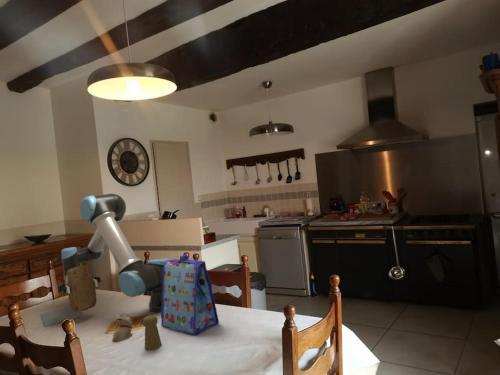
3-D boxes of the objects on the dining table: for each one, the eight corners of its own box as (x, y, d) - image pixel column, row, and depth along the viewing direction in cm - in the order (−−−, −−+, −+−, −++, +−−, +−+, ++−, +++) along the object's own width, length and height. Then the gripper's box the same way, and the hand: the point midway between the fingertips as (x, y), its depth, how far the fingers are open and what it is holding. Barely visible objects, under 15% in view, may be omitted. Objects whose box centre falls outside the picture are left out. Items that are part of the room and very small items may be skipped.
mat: (80, 317, 176) (80, 316, 176) (44, 327, 167) (44, 326, 167) (72, 306, 196) (72, 305, 196) (40, 314, 187) (40, 313, 187)
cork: (146, 352, 128) (142, 321, 128) (143, 346, 134) (139, 316, 133) (163, 346, 131) (159, 316, 131) (159, 341, 136) (156, 312, 136)
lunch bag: (220, 323, 147) (211, 252, 147) (194, 336, 137) (185, 260, 136) (185, 315, 161) (177, 250, 161) (159, 327, 151) (151, 257, 151)
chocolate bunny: (133, 337, 143) (130, 312, 142) (112, 343, 140) (109, 317, 140) (133, 332, 148) (130, 308, 148) (112, 337, 145) (109, 312, 145)
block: (75, 314, 165) (69, 270, 165) (69, 311, 170) (63, 269, 170) (99, 306, 173) (93, 264, 172) (93, 304, 178) (87, 263, 178)
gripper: (100, 281, 193) (110, 288, 175) (50, 293, 180) (55, 302, 162) (98, 267, 193) (108, 272, 175) (48, 278, 180) (53, 285, 162)
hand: (82, 287), depth 168 cm, fingers closed on block, 11 cm apart
